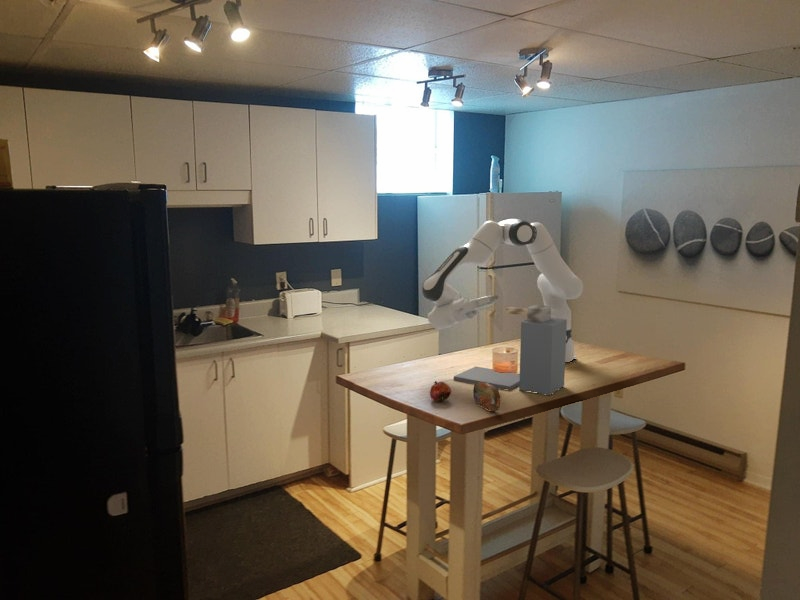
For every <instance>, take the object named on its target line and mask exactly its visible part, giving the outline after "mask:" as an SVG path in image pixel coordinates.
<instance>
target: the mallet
mask: <svg viewBox="0 0 800 600" xmlns="http://www.w3.org/2000/svg"><path fill="white" fill-rule="evenodd" d="M505 314H507V315H519V316H527V317H526V320H527V321H532V322H540V323H543V322H546V321H548V320H550V319H551V306H545V305H544V304H534V305H531V306H529V307H527V308H523V307H514V306H507V307H505Z"/></svg>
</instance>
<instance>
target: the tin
mask: <svg viewBox="0 0 800 600" xmlns="http://www.w3.org/2000/svg"><path fill="white" fill-rule="evenodd" d="M472 392H473V400H474V402H475V404H476V405H477V404H478V405H477V406H479V405H480V406H482V407H484V408H486V409H488V410H490V411H491V412H497V411H498V410H499V409H500V406H501V393H500V391H499V388H496V387H494V386H492V385H490V384H488V383H487V382H479V381H478V382H476V383H475V384H474V385H473V391H472ZM480 406H479V407H480ZM482 407H481V408H482Z"/></svg>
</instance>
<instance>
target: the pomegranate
mask: <svg viewBox="0 0 800 600" xmlns="http://www.w3.org/2000/svg"><path fill="white" fill-rule="evenodd" d="M433 383H434V384H433V385H432V386H431V388H430V391H429V397H430V398H431V400H432V401H434V402H436V403H437V402H441V401H442V402H443V404H444V405H446V404H445V401H446V400H447V399H448V398H449V397H450V396H451V394H452V388H451V387H450V385H448V384H447V383H445V382H443V381H439V382H437V381H436V380H435V381H434V382H433Z"/></svg>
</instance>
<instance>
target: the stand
mask: <svg viewBox="0 0 800 600" xmlns="http://www.w3.org/2000/svg"><path fill="white" fill-rule="evenodd" d="M566 327H567V319H558V318H551V319H550V320H548V321H546V322H543V323H540V322H532V321H527V319H526V320H522V321H521V322H520V347H519V348H520V352H519V353H520V354H519V374H520V381H519V385H518V390H524V391H523V392H525V391H531V392H537V393H541V394H546V395H551V394H552V393H554V392H555V391H557V390H558V389H560V388H561V387H563V386H564V387H565V371H566V363H565V351H566ZM564 387H563V388H564ZM561 389H562V388H561ZM561 389H560V390H561ZM558 391H559V390H558ZM558 391H557V392H558ZM541 394H540V395H541ZM554 394H555V393H554ZM546 395H545V396H546ZM551 396H552V395H551Z"/></svg>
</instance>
